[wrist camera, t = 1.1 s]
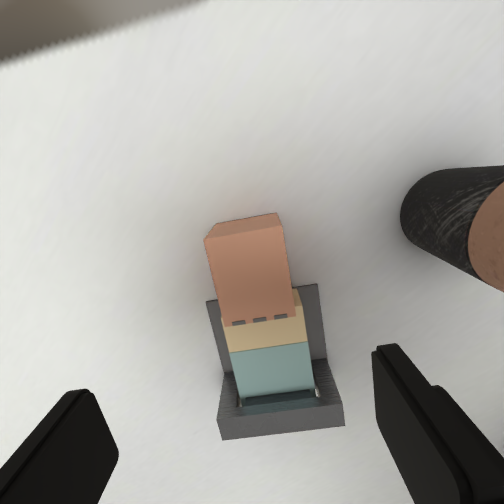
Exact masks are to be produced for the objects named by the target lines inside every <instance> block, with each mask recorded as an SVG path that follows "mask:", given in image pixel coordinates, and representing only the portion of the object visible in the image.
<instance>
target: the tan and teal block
mask: <svg viewBox="0 0 504 504" xmlns="http://www.w3.org/2000/svg"><path fill="white" fill-rule="evenodd" d="M292 292H293V298H294V305H295V311H296V316H295V317H289V318H283V319H276V320H269V321H263V322H257V323H249V324H243V325H237V326H230V327H225V326H224V322H223V318H222V316H221V321H222V325H223V329H224V333H225V337H226V341H227V345H228V350H229V355H230V359H231V363H232V367H233V371H234V375H235V379H236V383H237V387H238V391H239V395H240V399H241V403H242V407H244V406H245V398H246V397H254V396H261V395H269V394H276V393H284V392H292V391H299V390H307V389H310V394H311V398H314V397H316V393H315V386H314V379H313V373H312V366H311V359H310V353H309V346H308V340H307V333H306V327H305V320H304V313H303V307H302V303H301V300H300V297H299V294H298V291H297V288H296V289H292Z"/></svg>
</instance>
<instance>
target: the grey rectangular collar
mask: <svg viewBox="0 0 504 504" xmlns="http://www.w3.org/2000/svg"><path fill="white" fill-rule="evenodd" d="M311 365H312V372H313V379H314V383H315V386H316V390H317V394H318V397H314V398H311V394H310V389H307V390H299V391H292V392H284V393H276V394H269V395H261V396H254V397H246V398H245V406H244V407H242V403H241V399H240V395H239V391H238V387H237V383H236V379H235V375H234V371H229V372H225V373H224V379H223V385H222V391H221V396H220V402H219V408H218V414H217V423H218V427H219V430H220V434H221V437H222V441H223V440H231V439H239V438H248V437H256V436H264V435H273V434H281V433H289V432H298V431H306V430H314V429H323V428H331V427H339V426H345V420H344V412H343V404H342V401H341V398H340V395H339V392H338V390H337V387H336V384H335V381H334V378H333V376H332V373H331V370H330V367H329V365H328V362H327V359H326V358H322V359H315V360H311Z"/></svg>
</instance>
